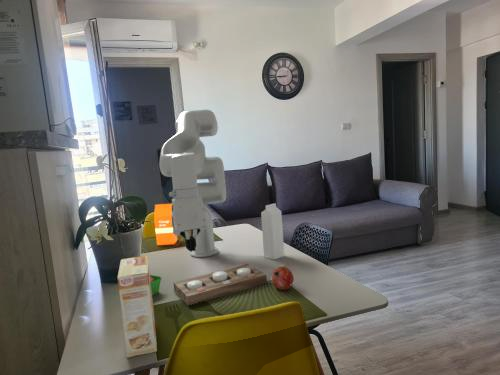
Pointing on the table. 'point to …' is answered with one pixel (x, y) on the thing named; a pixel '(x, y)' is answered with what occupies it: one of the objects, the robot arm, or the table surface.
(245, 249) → the table surface
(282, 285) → the pomegranate
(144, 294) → the coffeecake box
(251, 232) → the table surface
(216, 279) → the button middle
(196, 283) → the button end
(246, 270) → the button end
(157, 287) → the fruit basket
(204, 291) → the button board
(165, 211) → the orange juice
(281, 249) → the milk
